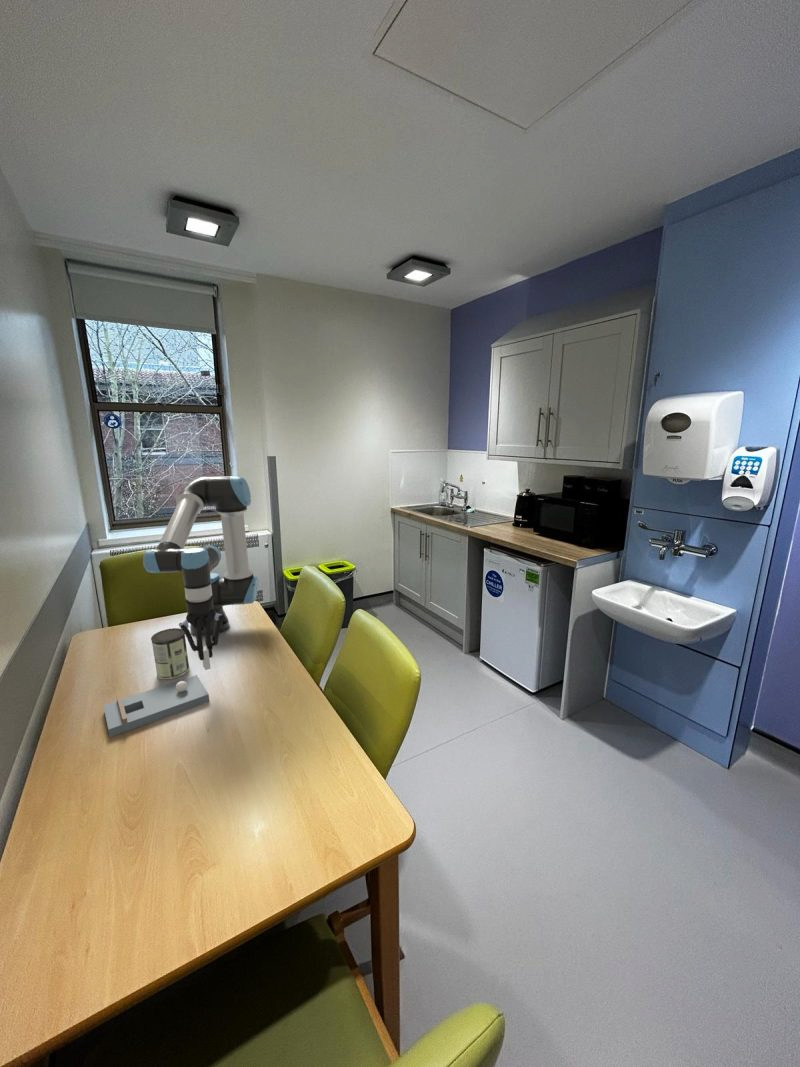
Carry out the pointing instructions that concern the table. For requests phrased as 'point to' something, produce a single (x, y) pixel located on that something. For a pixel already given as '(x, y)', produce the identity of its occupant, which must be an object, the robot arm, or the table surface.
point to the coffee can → (170, 653)
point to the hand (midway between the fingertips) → (206, 667)
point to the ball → (181, 686)
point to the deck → (153, 705)
